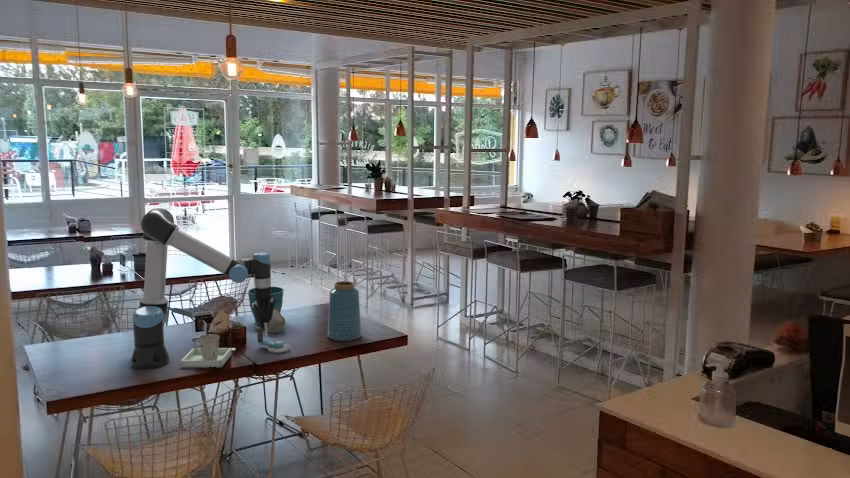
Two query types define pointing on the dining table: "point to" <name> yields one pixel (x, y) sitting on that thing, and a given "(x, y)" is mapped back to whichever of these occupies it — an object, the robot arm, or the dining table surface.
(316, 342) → the dining table surface
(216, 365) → the tray
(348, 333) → the vase
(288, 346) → the pedestal
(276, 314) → the fruit
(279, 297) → the flower pot
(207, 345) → the mug
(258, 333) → the crank
